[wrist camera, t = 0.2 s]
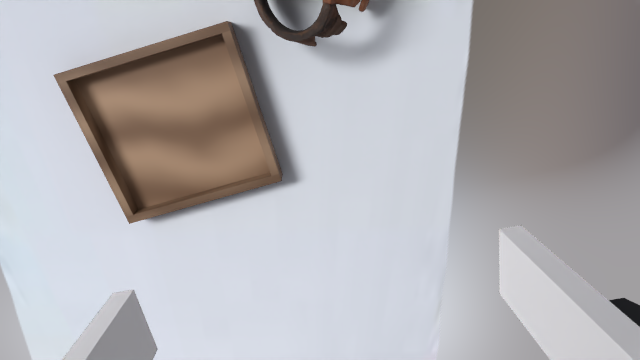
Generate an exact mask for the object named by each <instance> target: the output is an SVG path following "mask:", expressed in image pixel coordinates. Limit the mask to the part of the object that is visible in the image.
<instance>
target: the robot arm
mask: <svg viewBox="0 0 640 360" xmlns="http://www.w3.org/2000/svg"><path fill="white" fill-rule="evenodd" d="M499 270H500V271H499V275H500V276H499V277H500V279H499V280H500V295H501V296H502V298H503V299H504V300H505V301H506V303H507V304H508V305H509V307H510V308H511V309H512V311H513V312H514V313H515V314H516V316H517V317H518V318H519V320H520V321H521V322H522V324H523V325H524V326H525V328H526V329H527V330H528V331H529V333H530V334H531V335H532V337H533V338H534V339H535V341H536V342H537V343H538V344H539V346H540V347H541V348H542V350H543V351H544V352H545V353H546V355H547V356H548V358H549V359H550V360H640V305H638V304H636V303H634V302H631V301H629V300H627V299H625V298H621V299H614V300H608V299H606V298H605V297H604V296H603V295H602V294H601V293H599V292H598V291H597V290H596V289H595V288H594V287H592V286H591V285H590V284H589V283H587V281H585V280H584V279H583V278H582V277H581V276H580V275H578V274H577V273H576V272H575V271H574V270H573V269H571V268H570V267H569V266H568V265H567V264H566V263H564V262H563V261H562V260H561V259H560V258H558V257H557V256H556V255H555V254H554V253H553V252H552V251H550V250H549V249H548V248H547V247H546V246H545V245H543V244H542V243H541V242H540V241H539V240H538V239H536V238H535V237H534V236H533V235H532V234H531V233H529V232H528V231H527V230H526V229H525V228H524V227H522V226H521V225H520V226H513V227H507V228H501V229H499ZM156 351H157V346H156V344H155V341H154V339H153V336H152V334H151V331H150V329H149V326H148V324H147V321H146V319H145V317H144V314H143V312H142V309H141V307H140V304H139V302H138V299H137V297H136V294H135V292H134V290H128V291H122V292H116V293H112V295H111V296H110V297H109V299H108V300H107V301H106V303H105V304H104V305H103V307H102V308H101V309H100V310H99V312H98V313H97V314H96V316H95V317H94V318H93V320H92V321H91V322H90V324H89V325H88V326H87V328H86V329H85V330H84V331H83V333H82V334H81V335H80V337H79V338H78V339H77V341H76V342H75V343H74V345H73V346H72V347H71V348H70V350H69V351H68V352H67V354H66V355H65V356H64V358H63V359H62V360H153V358H154V356H155V354H156Z"/></svg>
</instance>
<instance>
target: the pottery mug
mask: <svg viewBox="0 0 640 360" xmlns="http://www.w3.org/2000/svg"><path fill="white" fill-rule="evenodd" d="M254 2H255V5H256V7H257V10H258V13H259V15H260V16H261V18H262V20H263V21H264V23H265V24H266V25H267V26H268V27H269V28H271V30H272V31H273V32H274V33H275V34H276V35H278V36H280V37H281V38H284V39H286V40H289V41H294V42H298V43H301V44H305V45H308V46H316V45H317V44H316V42H315V36H318V37H322V38H323V37H330V36H332V35H339V34H340V33H341V32H342V31H343V30H344V29H345V28H346V26H347V23H346V22H344V21H342V20H341V17H340V15H339V13H338V10H337V7H336V4H340V5H346V6H351V7H355V6H356V5H357V4H358V3H359V2H360V0H323V6H322V8H321V12H320V14H319V17H318V18H317V20H316V21H315V22H314V24H313V25H311V26H310V27H309V28H307V29H305V30H301V31H296V30H292V29H289V28H287V27H285V26H284V25H283V24H281V23H280V22H279V21H278V19H277V18H276V17H275V16H274V14H273V13H272V11H271V9H270V7H269V4H268V2H267V0H254ZM368 3H369V0H362V1H361V4H360V7H359V11H361V12H363V11H364V10H365V9H366V7H367V5H368Z"/></svg>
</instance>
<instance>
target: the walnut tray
mask: <svg viewBox="0 0 640 360" xmlns="http://www.w3.org/2000/svg"><path fill="white" fill-rule="evenodd" d="M54 77H55V79H56V81H57V83H58V85H59V87H60V89H61V91H62V93H63V95H64V97H65V98H66V100H67V102H68V104H69V106H70V108H71V110H72V112H73V114H74V116H75V118H76V120H77V122H78V124H79V126H80V128H81V130H82V132H83V134H84V136H85V138H86V140H87V142H88V144H89V146H90V147H91V149H92V151H93V153H94V155H95V157H96V159H97V161H98V163H99V165H100V167H101V169H102V171H103V173H104V175H105V177H106V179H107V181H108V183H109V185H110V187H111V189H112V191H113V193H114V194H115V196H116V198H117V200H118V202H119V204H120V206H121V208H122V210H123V212H124V214H125V216H126V218H127V220H128V222H129V224H130V223H133V222H137V221H140V220H144V219H147V218H151V217H155V216H158V215H162V214H165V213H169V212H172V211H176V210H180V209H183V208H187V207H190V206H194V205H197V204H201V203H205V202H208V201H212V200H215V199H219V198H222V197H226V196H230V195H233V194H237V193H240V192H244V191H247V190H251V189H255V188H258V187H262V186H265V185H269V184H272V183H276V182H280V181H282V175H283V174H282V171H281V168H280V165H279V162H278V160H277V157H276V154H275V151H274V148H273V145H272V142H271V139H270V136H269V133H268V130H267V127H266V124H265V121H264V118H263V115H262V112H261V109H260V106H259V103H258V100H257V97H256V94H255V91H254V88H253V85H252V82H251V79H250V76H249V73H248V71H247V68H246V65H245V62H244V59H243V56H242V53H241V50H240V47H239V44H238V41H237V38H236V35H235V32H234V29H233V26H232V23H231V22H228V21H226V22H223V23H220V24H216V25H213V26H210V27H207V28H204V29H200V30H197V31H194V32H191V33H187V34H184V35H181V36H178V37H174V38H171V39H168V40H165V41H162V42H158V43H155V44H152V45H149V46H145V47H142V48H139V49H136V50H132V51H129V52H126V53H123V54H120V55H116V56H113V57H110V58H107V59H103V60H100V61H97V62H94V63H90V64H87V65H84V66H81V67H78V68H74V69H71V70H68V71H65V72H61V73H58V74H55V75H54Z"/></svg>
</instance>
